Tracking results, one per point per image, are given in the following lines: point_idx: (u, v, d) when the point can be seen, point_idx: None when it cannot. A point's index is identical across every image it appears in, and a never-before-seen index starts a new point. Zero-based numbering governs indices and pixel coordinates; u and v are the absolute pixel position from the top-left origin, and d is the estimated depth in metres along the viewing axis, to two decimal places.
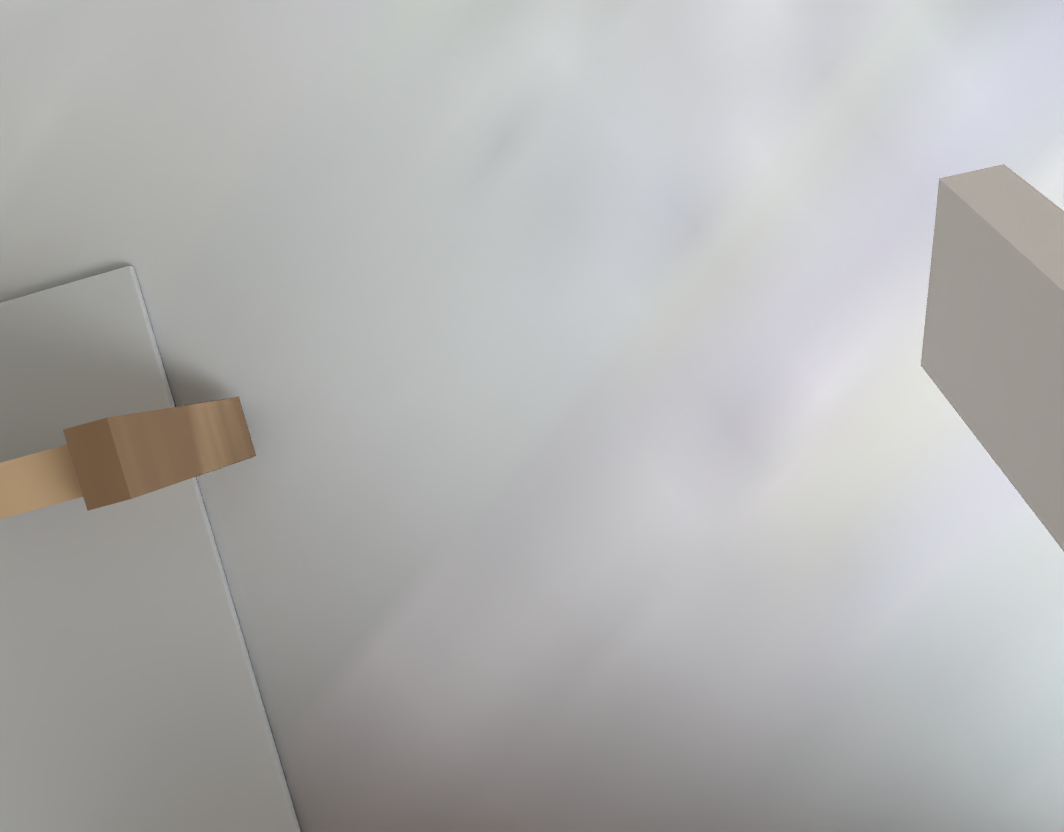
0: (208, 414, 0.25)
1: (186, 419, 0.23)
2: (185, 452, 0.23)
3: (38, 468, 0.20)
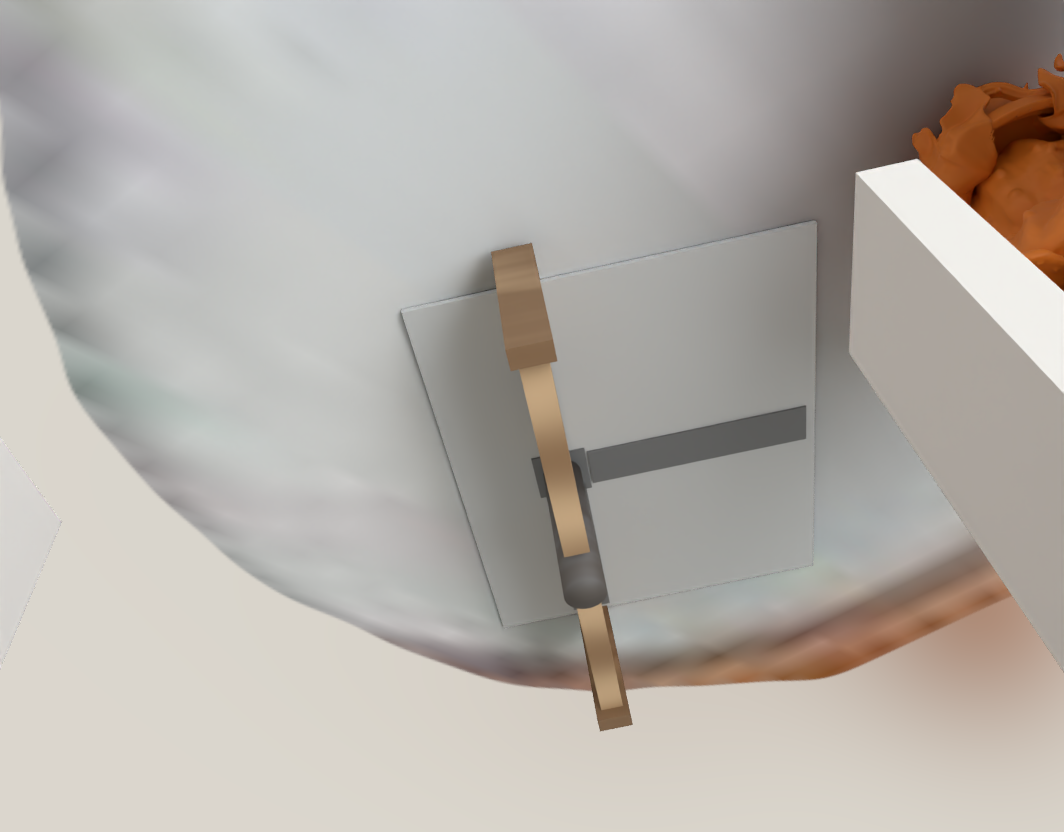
0: (503, 278, 0.38)
1: (506, 295, 0.37)
2: (527, 299, 0.36)
3: (531, 382, 0.36)
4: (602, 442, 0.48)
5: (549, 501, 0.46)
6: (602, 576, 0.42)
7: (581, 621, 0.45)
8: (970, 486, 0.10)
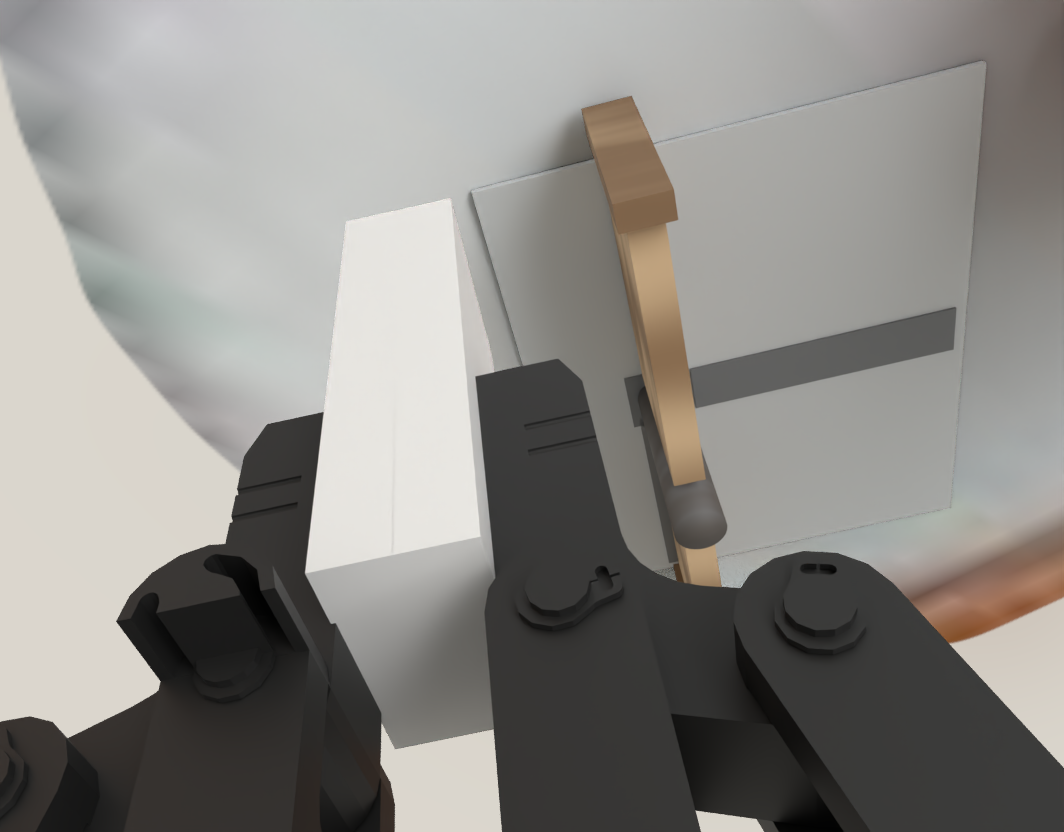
0: (600, 133, 0.30)
1: (606, 149, 0.29)
2: (633, 151, 0.29)
3: (642, 253, 0.28)
4: (708, 357, 0.40)
5: (648, 426, 0.39)
6: (720, 509, 0.35)
7: (690, 567, 0.38)
8: None
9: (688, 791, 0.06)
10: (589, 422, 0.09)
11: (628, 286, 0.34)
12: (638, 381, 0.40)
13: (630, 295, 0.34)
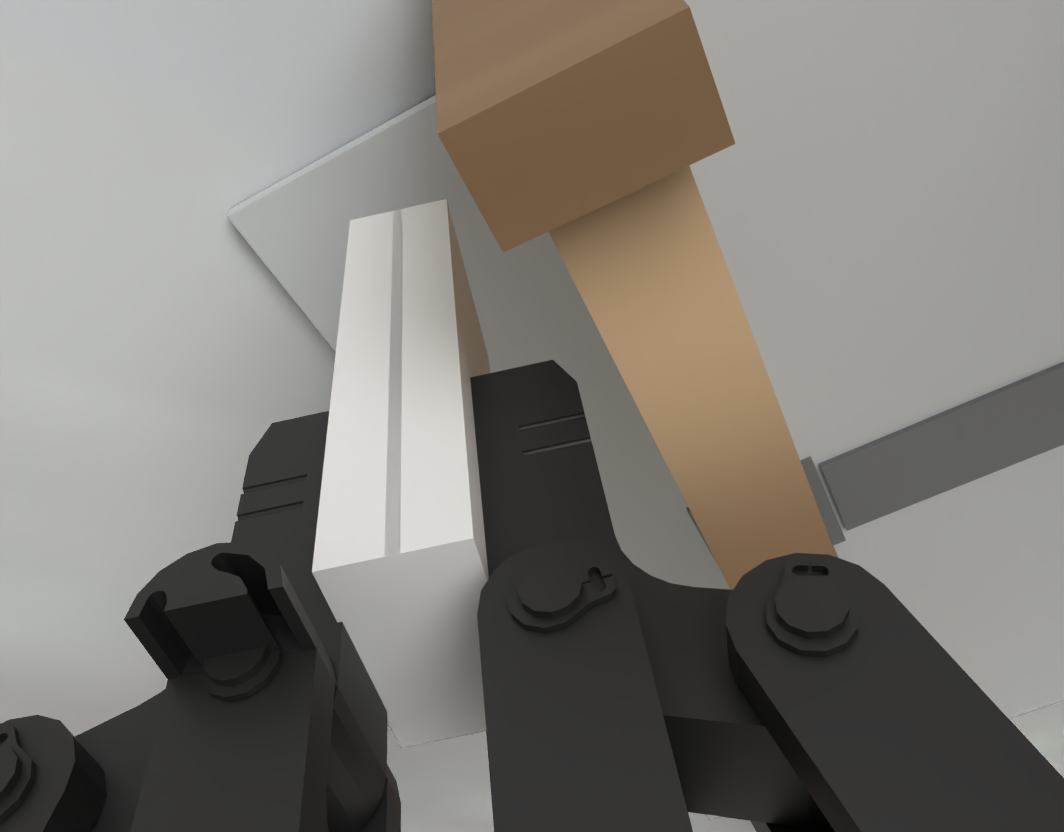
0: None
1: None
2: None
3: (625, 293, 0.08)
4: (855, 434, 0.19)
5: None
6: None
7: None
8: None
9: (681, 792, 0.06)
10: (583, 424, 0.09)
11: None
12: None
13: None
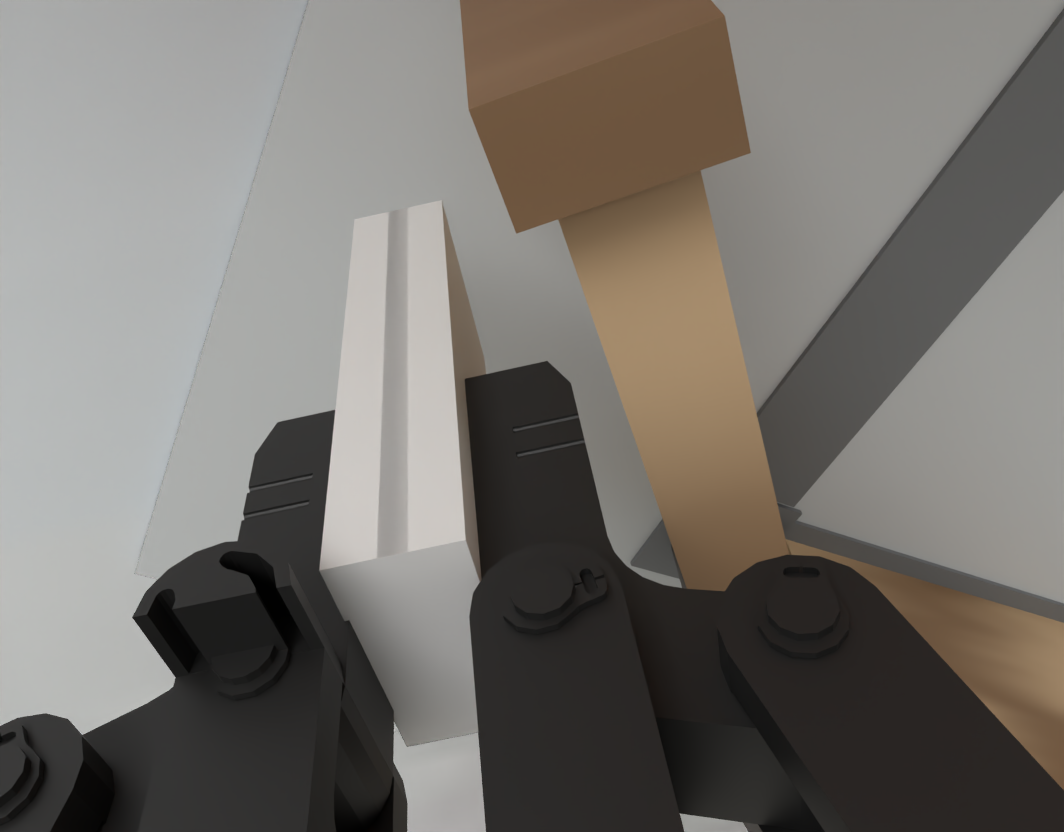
0: None
1: None
2: None
3: (624, 289, 0.08)
4: None
5: None
6: None
7: None
8: None
9: (672, 794, 0.06)
10: (577, 425, 0.09)
11: None
12: (654, 551, 0.21)
13: None
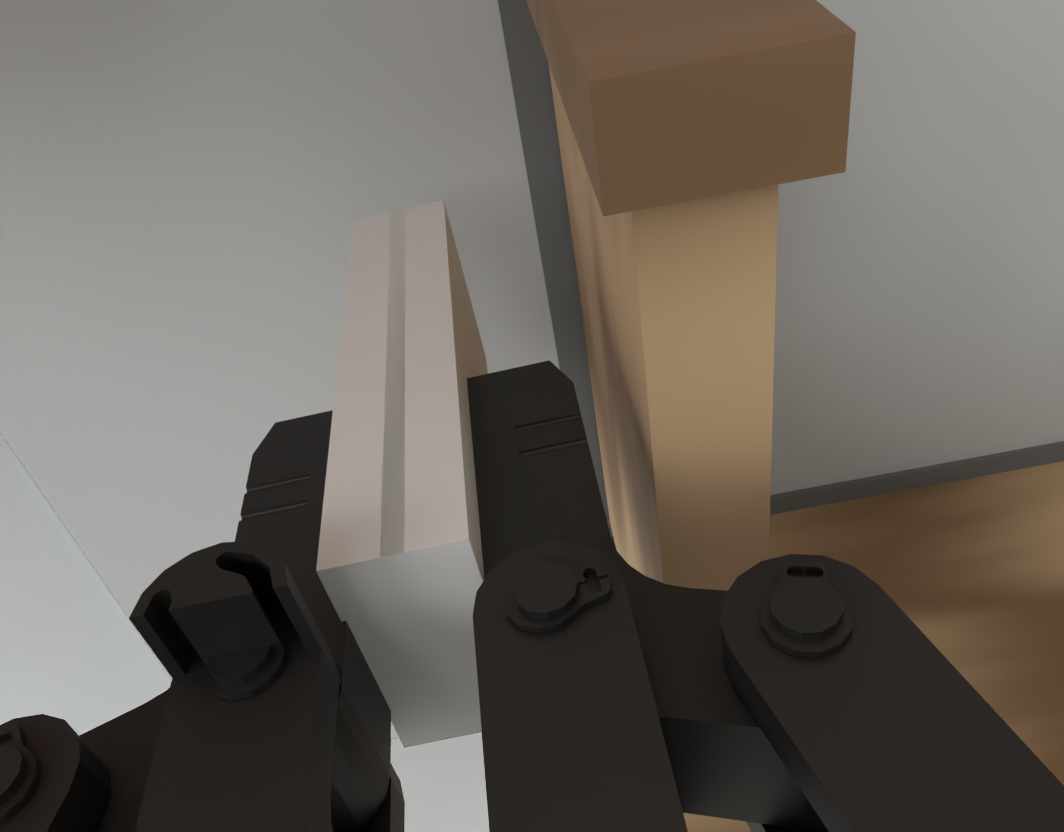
0: None
1: None
2: None
3: (678, 289, 0.08)
4: None
5: None
6: None
7: None
8: None
9: (676, 794, 0.06)
10: (580, 424, 0.09)
11: (599, 357, 0.14)
12: None
13: (603, 379, 0.14)
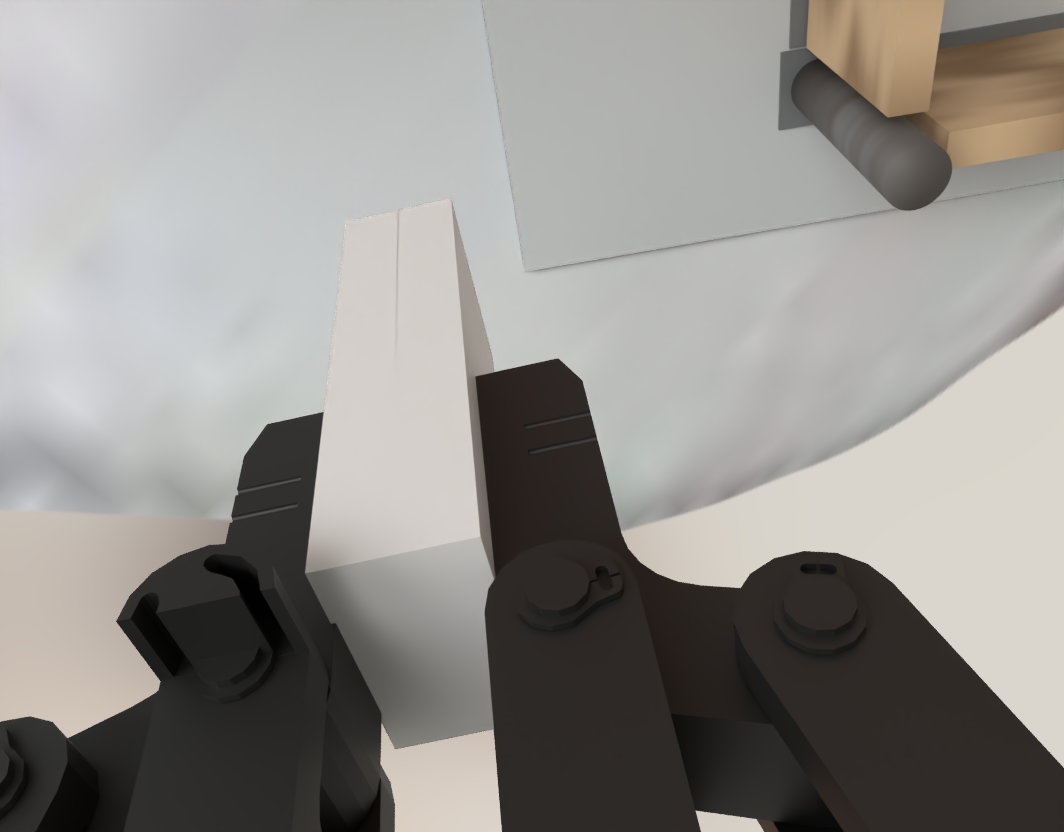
0: None
1: None
2: None
3: None
4: (779, 23, 0.32)
5: None
6: (901, 143, 0.26)
7: (1011, 156, 0.28)
8: None
9: (689, 791, 0.06)
10: (589, 422, 0.09)
11: None
12: (786, 113, 0.34)
13: None
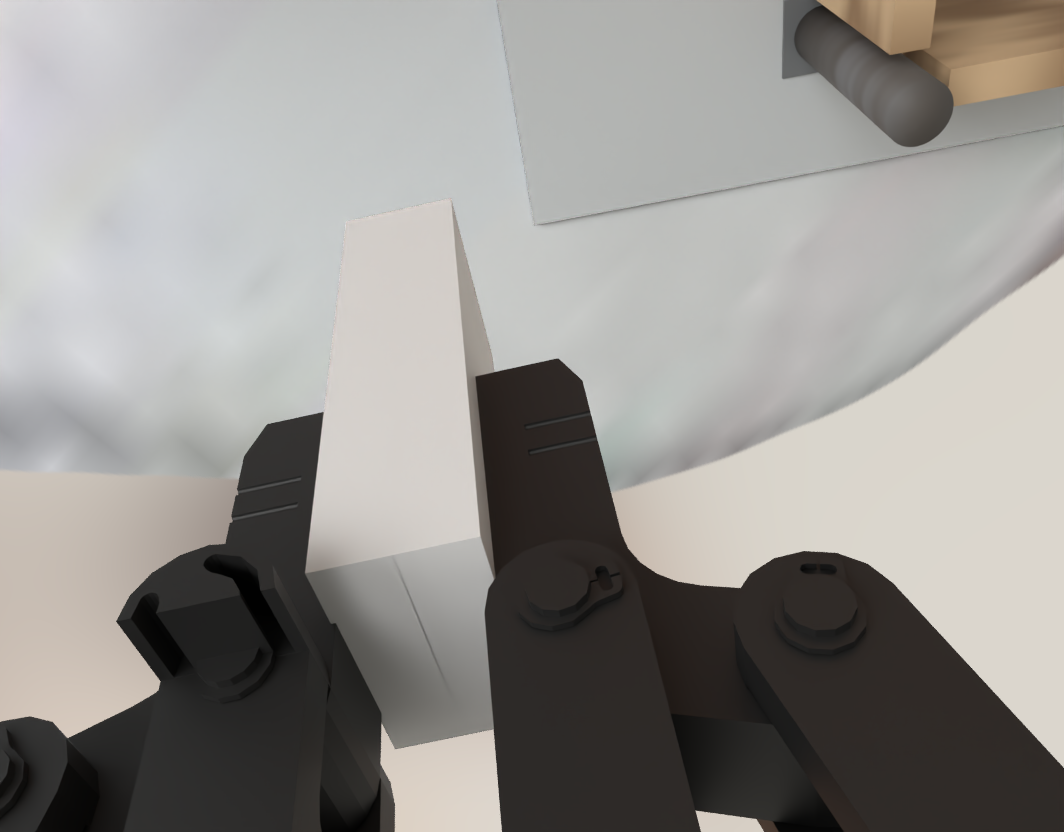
0: None
1: None
2: None
3: None
4: None
5: None
6: (903, 80, 0.27)
7: (1012, 93, 0.29)
8: None
9: (689, 790, 0.06)
10: (589, 422, 0.09)
11: None
12: (790, 61, 0.34)
13: None
